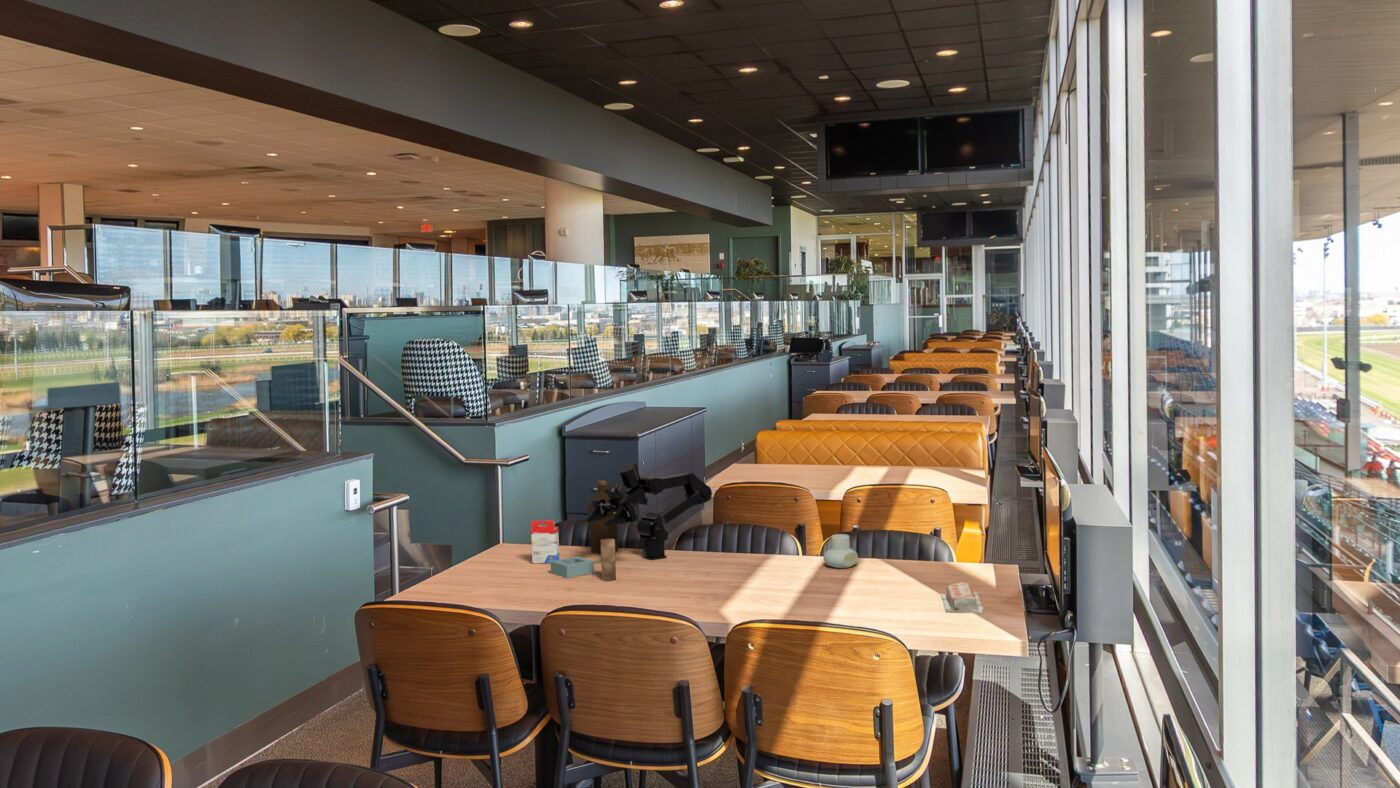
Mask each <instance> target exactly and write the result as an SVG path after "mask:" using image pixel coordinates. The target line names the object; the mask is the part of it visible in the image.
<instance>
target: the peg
mask: <svg viewBox="0 0 1400 788" xmlns="http://www.w3.org/2000/svg"><path fill="white" fill-rule="evenodd" d="M600 560H601V561H600V562H601V566H600V567H601V581H603V580H604V581H603V582H612V581H613V580H614V581H616V580H617V570H616V569H617V568H616V552H615V539H602V540H601V554H600Z"/></svg>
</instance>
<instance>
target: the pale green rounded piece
mask: <svg viewBox="0 0 1400 788" xmlns="http://www.w3.org/2000/svg"><path fill="white" fill-rule="evenodd" d="M830 537H831V538H830V545H831V547H830V548H828V549H827V550H826V551H825V552H824V554H823V560H824V562H825V564H827V565H828V566H829V567H831V568H836V569H849V568H851V567H852V566H855V565H856V564H857V562H858V560H859V555H858V552H856V551H855V550H854V549H853V548H852V547H851V540H850V535H848V534H845V533H839V534H838V533H837V534H832V535H831V536H830Z"/></svg>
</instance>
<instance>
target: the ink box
mask: <svg viewBox="0 0 1400 788" xmlns="http://www.w3.org/2000/svg"><path fill="white" fill-rule="evenodd" d="M555 523H556V522H555V520H531V522H530V525H531V527H530V537H531V560H532V564H533V563H551V561H554V560H560V559H561V558H560V541H559V527H558V526H556V525H555ZM542 524H545V525H542Z"/></svg>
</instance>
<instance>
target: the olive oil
mask: <svg viewBox="0 0 1400 788" xmlns="http://www.w3.org/2000/svg"><path fill="white" fill-rule="evenodd" d="M607 484H608V483H607V480H603V479H602V480H597V486H596V487H597V492H596V493H595V495H594V496H593V497H592V498H591V499H590V501H589V502H588V506H587V515H588V516H587V518H588V517H589V515H590V514H591V512H592V510H593V505H592V503H591V502H592V500H594V499H595V498H598V499H603V500H605V502H606V504H610V502H609V501H608V499H609V497H608V495H607V494H606V493H605V492H604V491H603V490H604V489H605V487H606V486H607ZM613 515H614V513H613V512H609V513H608V516H606V517H604V519H601V520H597V521H593V522H589V523H588V526H589V538H590V552H591V553H592V552H593V553H592V554H595V553H598V554H597V555H601V540H602V539H615V553H616V551H617V550H619V542H618V541H619V540H618V539H619V537H618V536H619V533H618V532H619V530H618V529H619V524H615V525H608V526H606V525H605V522H606V521H607V520H608V519H609V518H610V517H611V516H613ZM617 552H618V551H617Z"/></svg>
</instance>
